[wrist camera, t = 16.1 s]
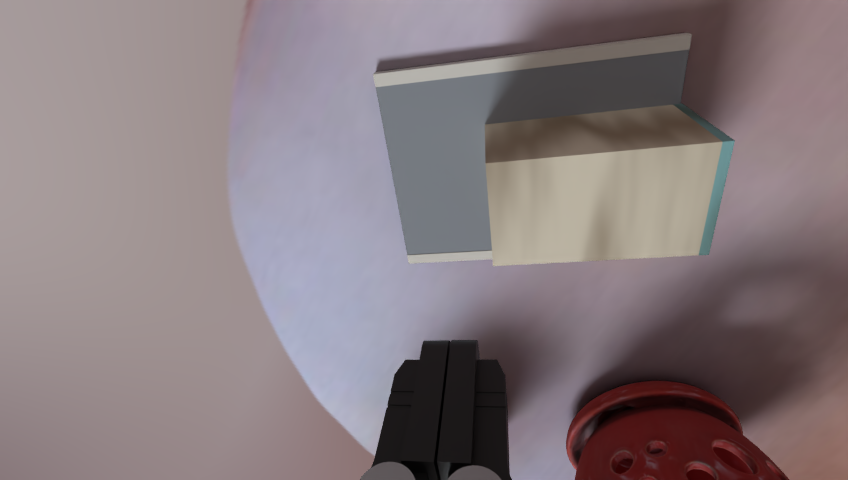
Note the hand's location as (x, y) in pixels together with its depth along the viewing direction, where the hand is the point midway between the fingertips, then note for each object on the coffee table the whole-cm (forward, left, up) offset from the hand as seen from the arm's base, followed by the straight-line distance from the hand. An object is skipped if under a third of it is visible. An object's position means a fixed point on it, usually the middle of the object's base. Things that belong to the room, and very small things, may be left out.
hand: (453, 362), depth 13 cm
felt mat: (-3, 0, -13) cm, 14 cm away
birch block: (-1, 0, -10) cm, 10 cm away
